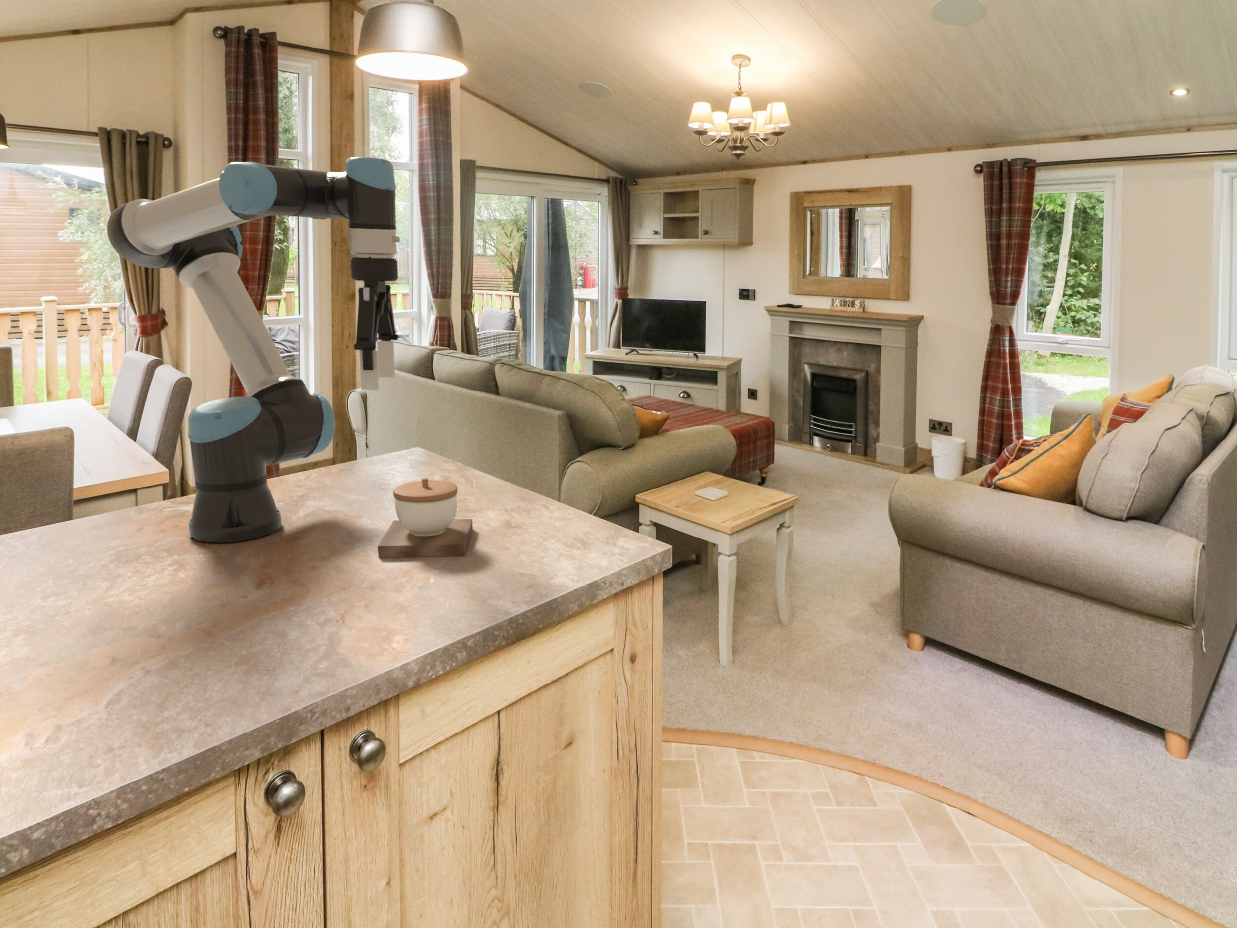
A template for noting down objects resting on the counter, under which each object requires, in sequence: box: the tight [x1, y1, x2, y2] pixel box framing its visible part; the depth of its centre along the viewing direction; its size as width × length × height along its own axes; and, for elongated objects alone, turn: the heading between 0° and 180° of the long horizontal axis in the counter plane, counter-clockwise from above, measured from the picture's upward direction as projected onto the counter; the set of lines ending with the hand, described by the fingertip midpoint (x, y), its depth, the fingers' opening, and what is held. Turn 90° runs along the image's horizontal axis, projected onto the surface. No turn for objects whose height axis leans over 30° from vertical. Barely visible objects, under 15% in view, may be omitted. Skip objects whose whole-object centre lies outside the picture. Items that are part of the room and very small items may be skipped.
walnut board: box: [377, 518, 474, 559], centre depth 144 cm, size 14×14×2 cm
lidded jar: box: [392, 477, 458, 537], centre depth 143 cm, size 11×11×9 cm
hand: (378, 383), depth 144 cm, fingers open, 13 cm apart
